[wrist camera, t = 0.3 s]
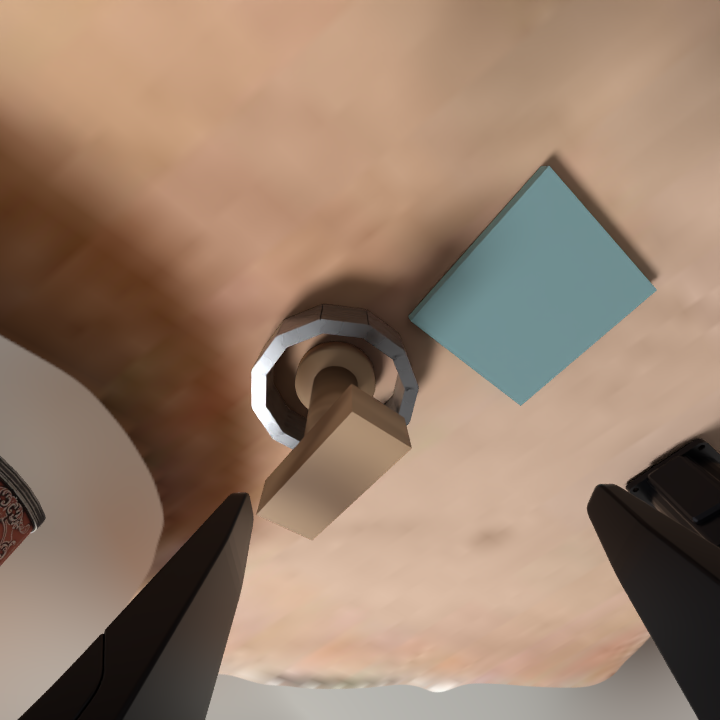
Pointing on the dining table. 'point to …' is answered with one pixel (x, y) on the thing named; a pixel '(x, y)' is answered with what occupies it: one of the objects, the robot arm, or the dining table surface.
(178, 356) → the dining table surface
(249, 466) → the dining table surface
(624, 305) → the rubber mat
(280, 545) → the dining table surface
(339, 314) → the ring socket
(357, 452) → the t key
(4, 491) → the lighter
